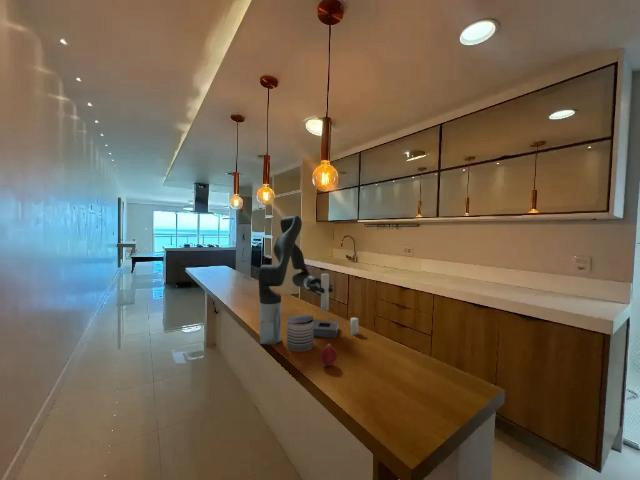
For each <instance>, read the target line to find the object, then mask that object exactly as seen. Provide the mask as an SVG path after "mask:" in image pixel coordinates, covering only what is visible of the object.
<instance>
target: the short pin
mask: <svg viewBox="0 0 640 480" xmlns="http://www.w3.org/2000/svg"><path fill="white" fill-rule="evenodd" d="M350 335H352V336H356V335H359V318H357V317H351V318H350Z"/></svg>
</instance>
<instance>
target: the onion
mask: <svg viewBox="0 0 640 480" xmlns="http://www.w3.org/2000/svg"><path fill="white" fill-rule="evenodd" d="M337 357H338V353H337V351H336V349H335V348H334V347H332V345H331V343H328V344H327V345H326V346H324V347H323V349H322V350H321V353H320V360H321V362H322V363H323V364H324V365H326V366H328V367H330V366H332V365H333V364H334V363H335V362H336V361H337Z"/></svg>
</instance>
